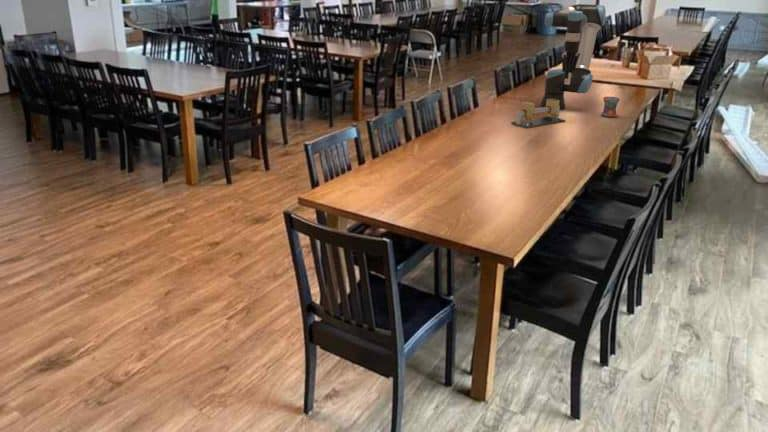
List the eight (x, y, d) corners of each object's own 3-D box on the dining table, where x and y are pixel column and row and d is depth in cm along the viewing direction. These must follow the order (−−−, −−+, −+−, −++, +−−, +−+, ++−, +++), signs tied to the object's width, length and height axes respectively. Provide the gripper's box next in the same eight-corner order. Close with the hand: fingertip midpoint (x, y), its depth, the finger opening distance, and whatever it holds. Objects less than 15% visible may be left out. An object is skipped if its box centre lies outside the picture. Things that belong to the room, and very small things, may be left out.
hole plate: (511, 123, 339) (511, 121, 338) (549, 117, 353) (550, 114, 353) (526, 128, 329) (526, 125, 329) (565, 121, 344) (565, 119, 343)
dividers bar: (514, 123, 336) (516, 103, 332) (553, 116, 351) (555, 97, 347) (523, 125, 331) (525, 105, 326) (562, 119, 345) (565, 100, 341)
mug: (614, 118, 353) (617, 100, 349) (598, 116, 358) (601, 98, 354) (620, 114, 362) (623, 97, 357) (604, 112, 367) (607, 95, 363)
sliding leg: (544, 117, 347) (546, 99, 343) (549, 116, 349) (551, 98, 345) (554, 119, 342) (556, 101, 338) (559, 119, 344) (561, 100, 340)
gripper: (569, 42, 326) (563, 86, 335) (585, 40, 332) (580, 84, 341) (558, 40, 332) (553, 84, 341) (575, 39, 338) (569, 82, 347)
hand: (566, 84), depth 341 cm, fingers closed
